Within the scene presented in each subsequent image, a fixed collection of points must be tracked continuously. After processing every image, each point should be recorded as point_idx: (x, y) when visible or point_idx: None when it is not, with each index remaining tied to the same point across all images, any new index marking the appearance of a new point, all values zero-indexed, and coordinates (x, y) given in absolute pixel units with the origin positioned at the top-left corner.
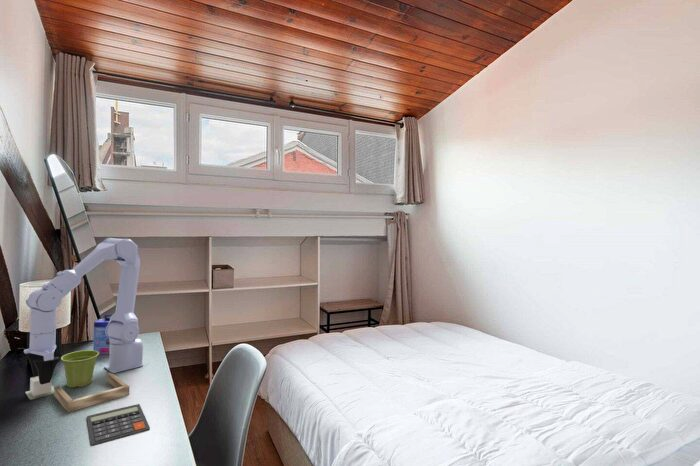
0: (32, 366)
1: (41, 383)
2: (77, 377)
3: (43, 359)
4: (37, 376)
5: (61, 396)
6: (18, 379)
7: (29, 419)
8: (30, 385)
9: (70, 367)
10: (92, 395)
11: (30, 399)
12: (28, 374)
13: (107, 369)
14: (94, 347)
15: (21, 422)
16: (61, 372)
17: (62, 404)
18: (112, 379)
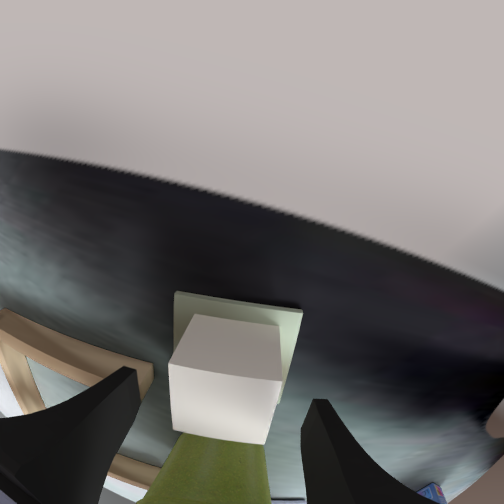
0: (332, 453)
1: (118, 370)
2: (166, 461)
3: (2, 479)
4: (270, 410)
5: (38, 346)
6: (484, 330)
7: (11, 217)
8: (269, 348)
9: (160, 494)
10: (9, 378)
11: (175, 292)
12: (488, 362)
13: (273, 500)
14: (434, 497)
15: (8, 193)
16: (401, 438)
17: (44, 329)
18: (117, 470)
